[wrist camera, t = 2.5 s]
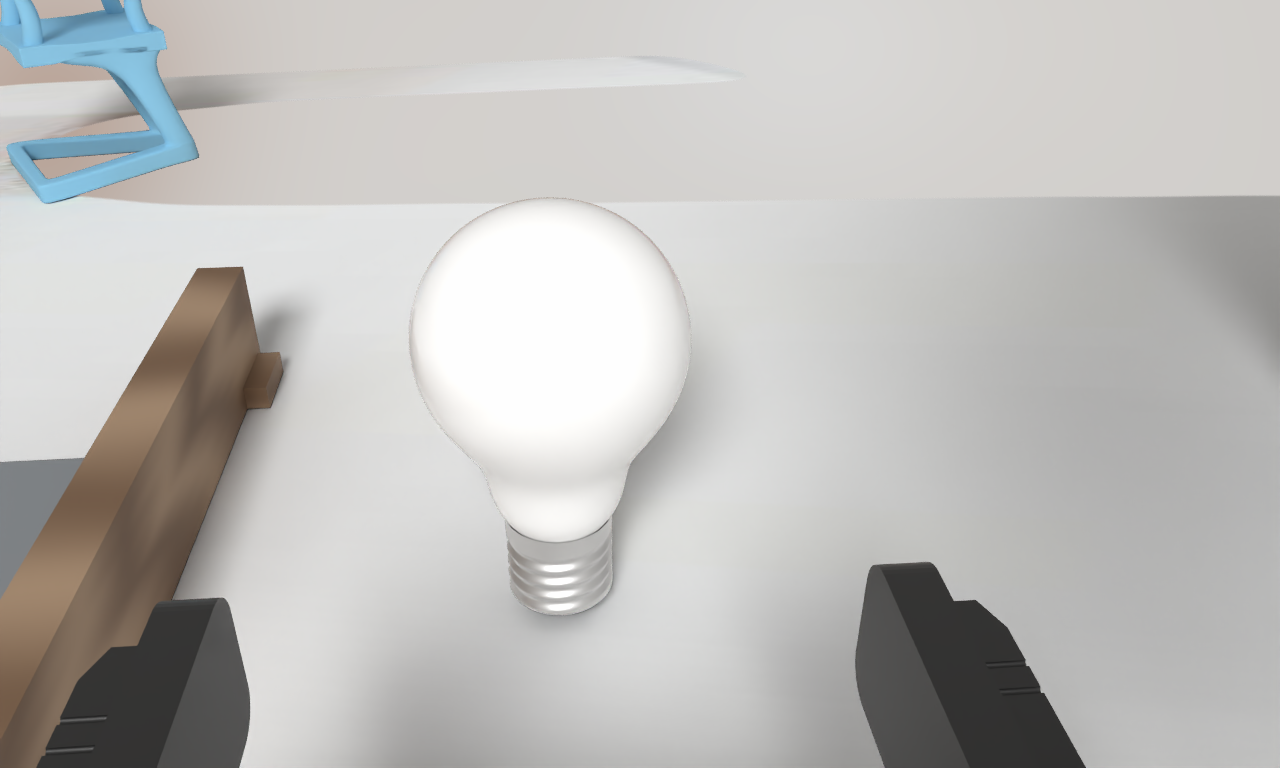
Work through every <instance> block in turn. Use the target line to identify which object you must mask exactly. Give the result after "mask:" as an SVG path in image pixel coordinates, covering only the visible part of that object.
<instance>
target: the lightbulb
mask: <svg viewBox="0 0 1280 768" xmlns="http://www.w3.org/2000/svg"><path fill="white" fill-rule="evenodd" d="M409 354H410V361H411V366H412V371H413V374H414V378H415V381H416V384H417V387H418V390H419V392H420V395H421V397H422V399H423V401H424V403H425V405H426V407H427V409H428V410H429V412H430V414H431V415H432V417H433V418H434V420H435V421H436V423H437V424H438V425H439V426H440V428H441V429H442V430H443V431H444V433H445V434H446V435H447V436H448V437H449V438H450V439H451V440H452V442H453V443H454V444H455V445H456V446H457V447H458V448H459V449H461V450H462V451H463V452H464V453H465V454H466V455H467V456H468V457H469V458H470V459H471V460H472V461H473V462H474V463H475V464H476V465H477V466H478V467H479V468H480V469H481V470H482V472H483V474H484V476H485V478H486V481H487V484H488V487H489V490H490V493H491V496H492V499H493V501H494V503H495V505H496V507H497V509H498V511H499V512H500V514H501V515H502V517H503V518H504V519H505V526H506V536H507V539H508V541H507V549H508V552H509V553H508V562H509V575H510V587H511V590H512V593H513V595H514V596H515V598H516V599H517V600H518V601H519V602H520V603H521V604H523V605H524V606H526V607H527V608H529V609H531V610H534V611H536V612H539V613H543V614H548V615H569V614H575V613H579V612H582V611H584V610H587V609H589V608H591V607H593V606H594V605H596V604H597V603H599V602H600V601H601V600H602V599H603V598H604V597H605V596H606V595H607V593H608V592H609V590H610V588H611V585H612V581H613V570H612V541H611V540H612V529H611V527H612V514H613V512H614V511H615V509H616V508H617V506H618V504H619V502H620V499H621V497H622V494H623V490H624V486H625V482H626V477H627V473H628V470H629V467H630V465H631V463H632V461H633V460H634V459H635V457H636V456H637V455H638V454H639V453H640V452H641V450H642V449H643V448H644V447H645V446H646V445H647V444H648V443H649V442H650V440H651V439H652V438H653V437H654V436H655V434H656V433H657V432H658V431H659V429H660V428H661V427H662V425H663V424H664V422H665V421H666V420H667V418H668V416H669V415H670V413H671V412H672V410H673V408H674V406H675V404H676V402H677V400H678V398H679V396H680V394H681V391H682V389H683V386H684V383H685V380H686V376H687V372H688V368H689V362H690V355H691V322H690V315H689V310H688V306H687V302H686V298H685V295H684V292H683V289H682V287H681V284H680V282H679V280H678V277H677V275H676V274H675V272H674V270H673V268H672V266H671V265H670V263H669V262H668V260H667V259H666V257H665V256H664V254H663V253H662V252H661V251H660V249H659V248H658V247H657V246H656V245H655V244H654V243H653V241H652V240H651V239H650V238H649V237H648V236H647V235H645V234H644V233H643V232H642V231H641V230H640V229H638V228H637V227H636V226H634V225H633V224H632V223H630V222H629V221H627V220H626V219H624V218H623V217H621V216H619V215H617V214H615V213H613V212H611V211H609V210H607V209H605V208H602V207H599V206H597V205H594V204H591V203H587V202H583V201H579V200H573V199H566V198H534V199H526V200H521V201H516V202H512V203H509V204H506V205H502V206H500V207H497V208H495V209H492V210H490V211H488V212H486V213H484V214H482V215H480V216H478V217H477V218H475V219H474V220H472V221H470V222H469V223H468V224H466V225H465V226H464V227H462V228H461V229H460V230H459V231H457V232H456V233H455V234H454V235H453V236H452V237H451V238H450V239H449V240H448V241H447V242H446V243H445V244H444V245H443V246H442V248H441V249H440V250H439V251H438V252H437V254H436V255H435V257H434V258H433V259H432V261H431V263H430V264H429V266H428V267H427V269H426V271H425V273H424V275H423V277H422V279H421V281H420V284H419V286H418V289H417V291H416V294H415V298H414V301H413V305H412V310H411V315H410V322H409Z"/></svg>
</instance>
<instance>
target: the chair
mask: <svg viewBox="0 0 1280 768" xmlns="http://www.w3.org/2000/svg"><path fill="white" fill-rule="evenodd" d="M101 1H102V4H103V6H104V9H105V10H101V11H96V12H91V13H85V14H81V15H75V16H66V17H57V18H48V19H40V18H39V15H38V13H37V11H36V9H35V6H34V5H33V3H32V1H31V0H0V2H1V9H2V17H1V22H0V45H1V46H3V47H5V48H7V49H8V50H9V51H10V52H11V53H12V55H13V56H14V57H15V59H16V60H17V61H18V63H19V64H20V65H21V66H22V67H23V68H29V67H36V66H44V65H51V64H57V63H64V64H72V65H82V66H94V67H99V68H103V69H105V70H107V71H108V72H109V73H110V75H111V76H112V77H113V79H114V80H115V81H116V83H117V84H118V85H119V86H120V88H121V89H122V90H123V91H124V93H125V94H126V96H127V97H128V98H129V100H130V101H131V102H132V104H133V105H134V106H135V108H136V109H137V111H138V112H139V113H140V115H141V116H142V118H143V119H144V121H145V122H146V123H147V125H148V126H149V129H150V130H146V131H137V132H125V133H115V134H101V135H88V136H76V137H64V138H52V139H41V140H31V141H23V142H17V143H12V144H9V145H7V147H6V148H7V151H8V154H9V157H10V159H11V162H12V164H13V165H14V166H15V168H16V169H17V170H18V172H19V173H20V174H21V175H22V177H23V178H24V179H25V180H26V182H27V183H28V184H29V186H30V187H31V188H32V189H33V191H34V192H35V193H36V195H37V196H38V197H39V198H40V200H41V201H42V202H43V203H51V202H56V201H59V200H63V199H66V198H70V197H73V196H76V195H80V194H83V193H86V192H89V191H92V190H95V189H99V188H101V187H105V186H108V185H111V184H114V183H117V182H120V181H124V180H127V179H130V178H133V177H136V176H139V175H142V174H146V173H149V172H152V171H155V170H159V169H162V168H165V167H169V166H172V165H176V164H179V163H183V162H186V161H191V160H194V159H197V158H198V157H199V154H198V151H197V148H196V145H195V142H194V140H193V138H192V136H191V134H190V133H189V131H188V129H187V128H186V126H185V124H184V122H183V120H182V119H181V117H180V115H179V113H178V112H177V110H176V108H175V106H174V104H173V102H172V100H171V98H170V96H169V95H168V93H167V91H166V89H165V87H164V84H163V82H162V80H161V78H160V75H159V73H158V69H157V64H156V63H157V56H158V53H159V51H160V50H164V49H167V46H166V41H165V37H164V32H163V31H162V30H161V29H159V28H158V27H156V26H154V25H151V24H149V23H148V21H147V19H146V17H145V14H144V12H143V9H142V4H141V0H124V8H122V6H121V3H120V1H119V0H101ZM131 152H136V153H133V154H130V155H127V156H123V157H120V158H117V159H114V160H111V161H108V162H105V163H101V164H98V165H95V166H92V167H89V168H85V169H83V170H79V171H76V172H73V173H69V174H66V175H63V176H60V177H56V178H53V179H47V178H45V177H44V175H43V174H42V173H41V171H40V170H39V169H38V168H37V166H36V165H35V163H34V162H33V161H32V160H38V159H51V158H64V157H78V156H91V155H105V154H118V153H131Z"/></svg>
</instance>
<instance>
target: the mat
mask: <svg viewBox="0 0 1280 768" xmlns="http://www.w3.org/2000/svg"><path fill="white" fill-rule="evenodd" d="M83 460H84V458H75V459H55V460H34V461H14V462H0V599H1V598H2V596H3V594H4V592H5V591H6V589H7V587H8V586H9V584H10V582H11V581H12V579H13V577H14V576H15V574H16V572H17V571H18V569H19V567H20V566H21V564H22V562H23V561H24V559H25V557H26V556H27V554H28V552H29V550H30V549H31V547H32V545H33V544H34V542H35V540H36V539H37V537H38V535H39V534H40V532H41V530H42V529H43V527H44V525H45V524H46V522H47V520H48V519H49V517H50V515H51V514H52V512H53V510H54V508H55V507H56V505H57V503H58V502H59V500H60V498H61V497H62V495H63V493H64V492H65V490H66V488H67V487H68V485H69V483H70V482H71V480H72V478H73V477H74V475H75V473H76V472H77V470H78V468H79V466H80V465H81V463H82V461H83Z"/></svg>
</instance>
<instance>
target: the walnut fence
mask: <svg viewBox="0 0 1280 768" xmlns="http://www.w3.org/2000/svg"><path fill="white" fill-rule="evenodd" d="M282 374H283V368H282V362H281V357H280V352H273V353H260V349H259V344H258V339H257V334H256V329H255V324H254V319H253V314H252V309H251V304H250V299H249V295H248V290H247V285H246V280H245V275H244V270H243V267H223V268H197V270H196V272H195V273H194V275H193V277H192V278H191V280H190V282H189V283H188V285H187V287H186V288H185V290H184V292H183V293H182V295H181V297H180V298H179V300H178V302H177V303H176V305H175V307H174V309H173V310H172V312H171V314H170V315H169V317H168V319H167V320H166V322H165V324H164V325H163V327H162V329H161V330H160V332H159V334H158V335H157V337H156V339H155V340H154V342H153V344H152V345H151V347H150V349H149V351H148V352H147V354H146V356H145V357H144V359H143V361H142V362H141V364H140V366H139V367H138V369H137V371H136V372H135V374H134V376H133V377H132V379H131V381H130V382H129V384H128V386H127V388H126V389H125V391H124V393H123V394H122V396H121V398H120V399H119V401H118V403H117V404H116V406H115V408H114V409H113V411H112V413H111V414H110V416H109V418H108V419H107V421H106V423H105V424H104V426H103V428H102V430H101V431H100V433H99V435H98V436H97V438H96V440H95V441H94V443H93V445H92V446H91V448H90V450H89V451H88V453H87V455H86V456H85V458H84V460H83V461H82V463H81V465H80V466H79V468H78V470H77V472H76V473H75V475H74V477H73V478H72V480H71V482H70V483H69V485H68V487H67V488H66V490H65V492H64V493H63V495H62V497H61V498H60V500H59V502H58V503H57V505H56V507H55V508H54V510H53V512H52V514H51V515H50V517H49V519H48V520H47V522H46V524H45V525H44V527H43V529H42V530H41V532H40V534H39V535H38V537H37V539H36V540H35V542H34V544H33V545H32V547H31V549H30V550H29V552H28V554H27V556H26V557H25V559H24V561H23V562H22V564H21V566H20V567H19V569H18V571H17V572H16V574H15V576H14V577H13V579H12V581H11V582H10V584H9V586H8V587H7V589H6V591H5V592H4V594H3V596H2V598H1V599H0V768H36V767H37V765H38V763H39V761H40V759H41V756H45V753H46V749H45V748H46V746H47V744H48V742H49V740H50V737H51V735H52V733H53V731H54V729H55V727H56V725H59V724H60V716H61V714H62V712H63V710H64V708H65V706H66V704H67V702H68V700H69V697H70V695H71V693H72V691H73V689H74V687H75V685H76V683H77V681H78V680H79V679H80V678H81V677H82V676H83V675H84V674H85V673H86V672H87V671H88V670H89V669H90V668H91V667H92V666H93V665H94V664H95V663H96V662H97V661H98V660H99V659H100V658H101V657H102V656H103V655H104V654H105V653H106V652H107V651H108V650H109V649H110V648H111V647H124V646H137V645H138V643H139V640H140V638H141V636H142V633H143V631H144V629H145V626H146V624H147V622H148V619H149V617H150V615H151V612H152V610H153V608H154V607H155V605H156V604H157V603H158V602H160V601H171V599H172V597H173V594H174V592H175V589H176V587H177V584H178V582H179V579H180V577H181V574H182V572H183V569H184V567H185V564H186V562H187V559H188V557H189V554H190V552H191V549H192V547H193V544H194V542H195V539H196V537H197V534H198V532H199V529H200V526H201V524H202V521H203V519H204V516H205V514H206V511H207V509H208V506H209V504H210V501H211V499H212V496H213V494H214V491H215V489H216V486H217V484H218V481H219V479H220V476H221V474H222V471H223V469H224V466H225V464H226V461H227V459H228V456H229V454H230V451H231V449H232V446H233V444H234V441H235V439H236V436H237V434H238V431H239V429H240V426H241V424H242V421H243V419H244V416H245V413H246V411H247V409H252V408H270V407H271V404H272V401H273V399H274V396H275V393H276V390H277V388H278V385H279V382H280V379H281V377H282Z"/></svg>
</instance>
